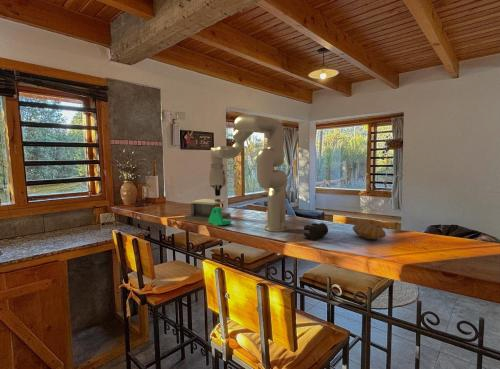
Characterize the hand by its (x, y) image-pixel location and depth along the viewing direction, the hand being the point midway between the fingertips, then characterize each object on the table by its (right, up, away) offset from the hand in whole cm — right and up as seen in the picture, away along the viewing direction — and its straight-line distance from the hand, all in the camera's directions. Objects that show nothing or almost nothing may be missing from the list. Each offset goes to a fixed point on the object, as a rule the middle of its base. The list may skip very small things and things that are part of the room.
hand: (217, 195), depth 178 cm
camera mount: (+3, -16, -16) cm, 23 cm away
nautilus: (+77, -18, -47) cm, 92 cm away
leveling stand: (-7, -14, +5) cm, 17 cm away
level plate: (-6, -5, +4) cm, 9 cm away
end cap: (+51, -18, -48) cm, 73 cm away
